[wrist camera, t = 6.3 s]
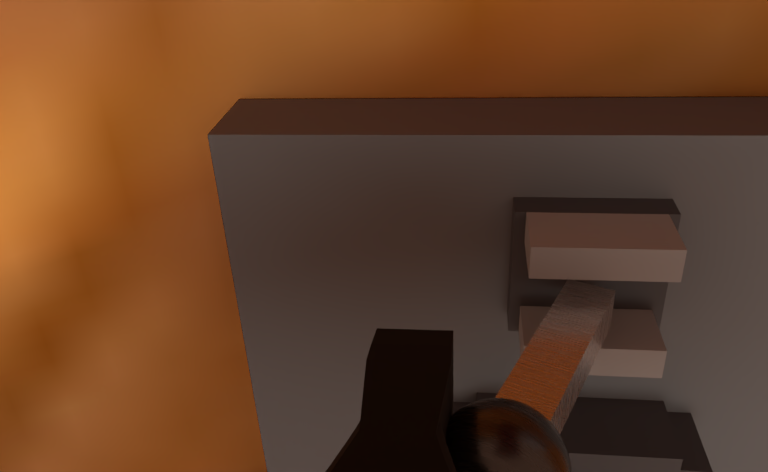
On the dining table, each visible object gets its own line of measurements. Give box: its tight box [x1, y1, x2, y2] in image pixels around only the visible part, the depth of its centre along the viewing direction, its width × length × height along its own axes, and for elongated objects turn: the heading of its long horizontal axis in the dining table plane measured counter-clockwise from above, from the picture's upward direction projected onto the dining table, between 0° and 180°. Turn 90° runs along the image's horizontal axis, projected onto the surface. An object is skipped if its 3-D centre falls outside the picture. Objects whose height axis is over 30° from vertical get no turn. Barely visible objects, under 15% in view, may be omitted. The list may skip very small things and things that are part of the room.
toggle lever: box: [446, 280, 616, 472], centre depth 10 cm, size 2×2×5 cm
